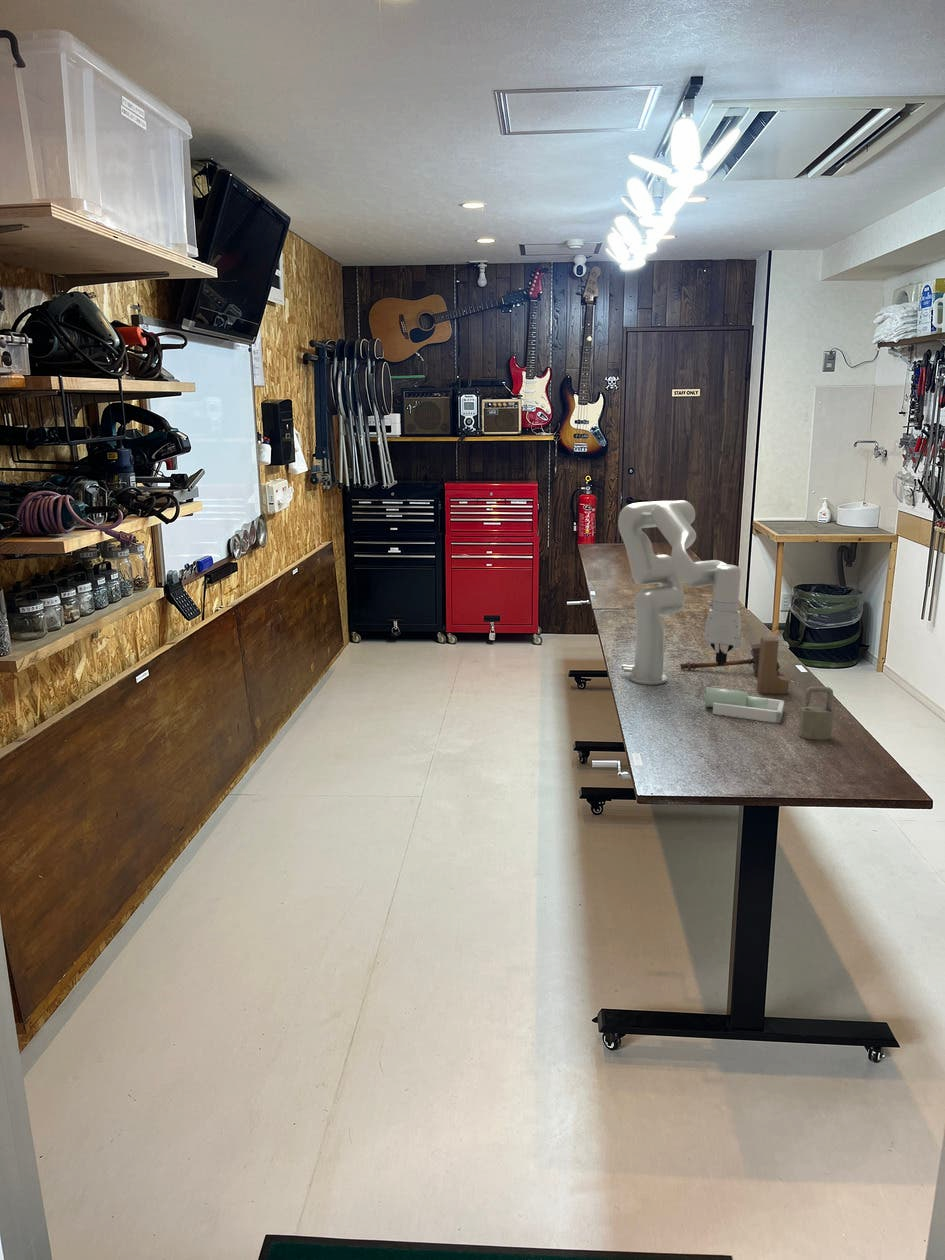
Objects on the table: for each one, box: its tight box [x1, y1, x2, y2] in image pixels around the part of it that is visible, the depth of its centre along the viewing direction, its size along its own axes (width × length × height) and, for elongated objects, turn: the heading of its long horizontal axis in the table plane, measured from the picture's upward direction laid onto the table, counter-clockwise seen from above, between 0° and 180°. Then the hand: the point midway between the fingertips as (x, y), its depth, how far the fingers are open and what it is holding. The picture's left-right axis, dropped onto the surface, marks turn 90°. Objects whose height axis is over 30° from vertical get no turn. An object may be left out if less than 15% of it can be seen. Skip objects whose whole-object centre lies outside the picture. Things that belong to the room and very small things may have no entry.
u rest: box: [712, 695, 785, 724], centre depth 275 cm, size 20×11×3 cm, turn 67°
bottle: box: [704, 686, 769, 709], centre depth 276 cm, size 6×6×18 cm
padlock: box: [798, 685, 834, 740], centre depth 254 cm, size 4×8×15 cm, turn 83°
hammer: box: [679, 643, 780, 677], centre depth 313 cm, size 7×33×10 cm, turn 79°
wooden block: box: [756, 636, 790, 695], centre depth 292 cm, size 9×4×18 cm, turn 91°
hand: (720, 664), depth 275 cm, fingers closed
